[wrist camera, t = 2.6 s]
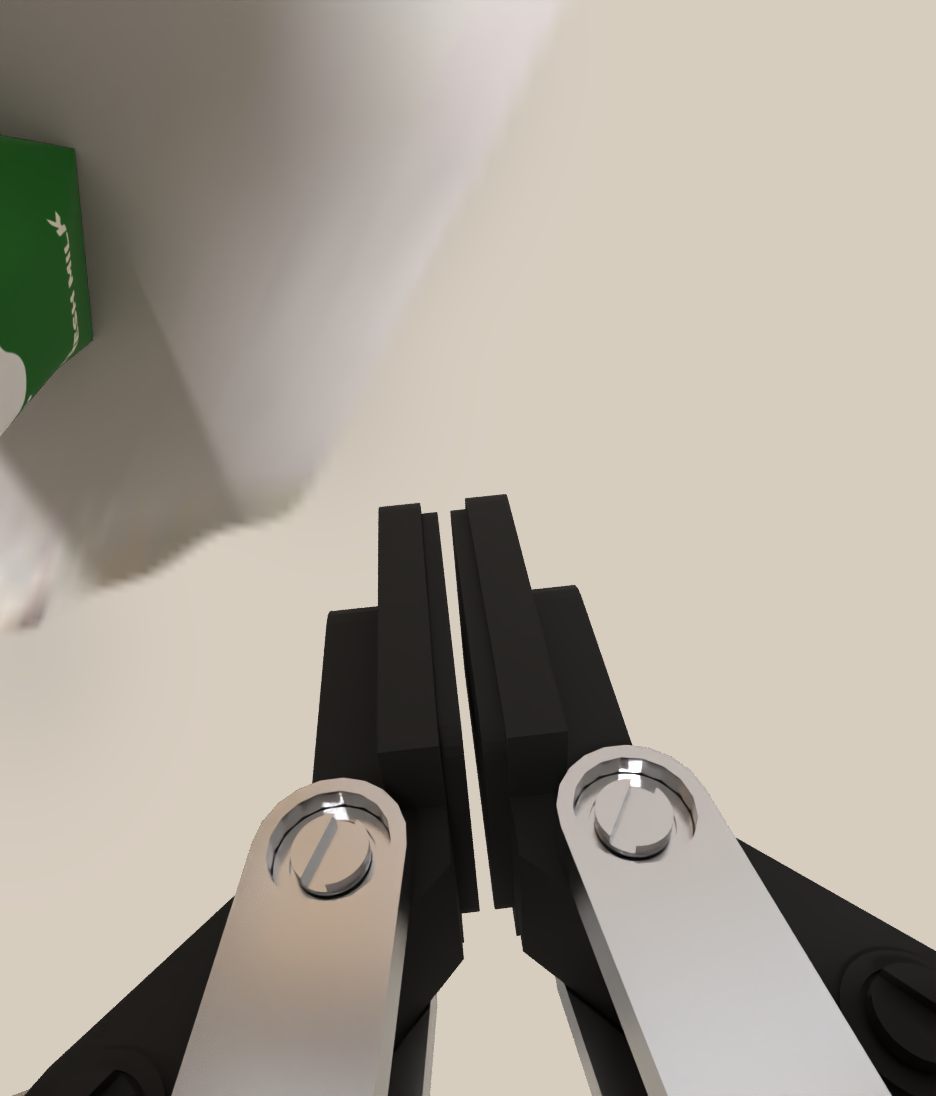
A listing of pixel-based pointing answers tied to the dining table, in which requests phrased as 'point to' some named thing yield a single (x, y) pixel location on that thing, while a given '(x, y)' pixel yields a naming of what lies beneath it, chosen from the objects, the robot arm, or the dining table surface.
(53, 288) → the soya milk
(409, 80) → the dining table surface
